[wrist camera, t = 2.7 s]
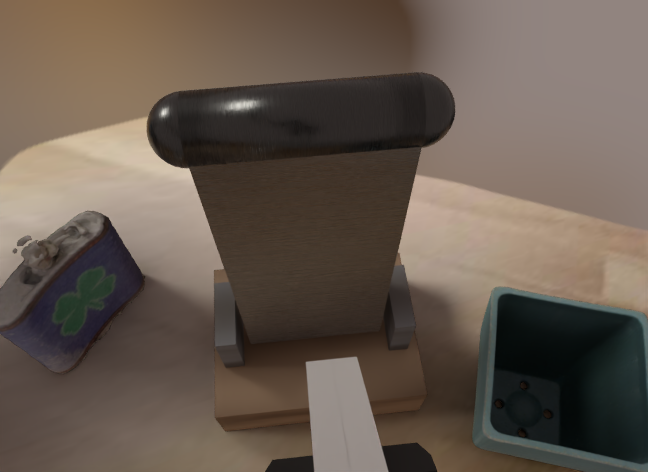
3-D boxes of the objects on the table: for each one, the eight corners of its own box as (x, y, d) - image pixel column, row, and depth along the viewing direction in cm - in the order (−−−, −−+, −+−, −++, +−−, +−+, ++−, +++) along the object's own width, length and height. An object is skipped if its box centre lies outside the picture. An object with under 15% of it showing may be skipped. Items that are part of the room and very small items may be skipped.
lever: (398, 337, 36) (471, 109, 18) (232, 354, 35) (133, 137, 17) (391, 300, 37) (452, 53, 19) (231, 316, 36) (139, 77, 18)
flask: (66, 381, 39) (-16, 324, 29) (36, 359, 39) (-53, 297, 30) (153, 280, 43) (105, 201, 33) (125, 262, 43) (70, 180, 34)
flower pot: (448, 464, 36) (482, 437, 28) (460, 336, 40) (492, 283, 32) (588, 495, 35) (664, 477, 27) (585, 361, 39) (649, 312, 31)
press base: (418, 410, 37) (438, 375, 31) (225, 431, 37) (202, 401, 30) (393, 277, 42) (406, 222, 36) (223, 294, 42) (203, 241, 35)
